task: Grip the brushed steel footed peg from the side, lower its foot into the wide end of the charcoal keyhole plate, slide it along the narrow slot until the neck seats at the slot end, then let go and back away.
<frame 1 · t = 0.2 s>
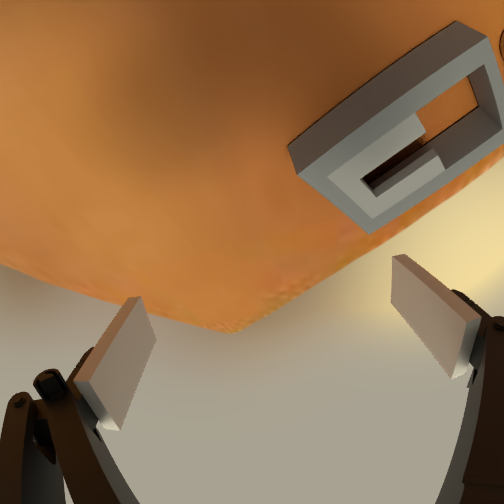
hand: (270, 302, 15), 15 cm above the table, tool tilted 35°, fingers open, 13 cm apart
keyhole plate: (403, 124, 23), on the table
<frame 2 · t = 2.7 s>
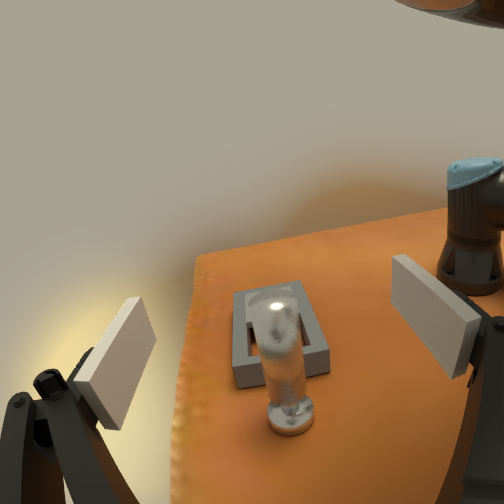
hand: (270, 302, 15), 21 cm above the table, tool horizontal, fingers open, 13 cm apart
keyhole plate: (276, 335, 46), on the table
steel peg: (291, 418, 30), on the table
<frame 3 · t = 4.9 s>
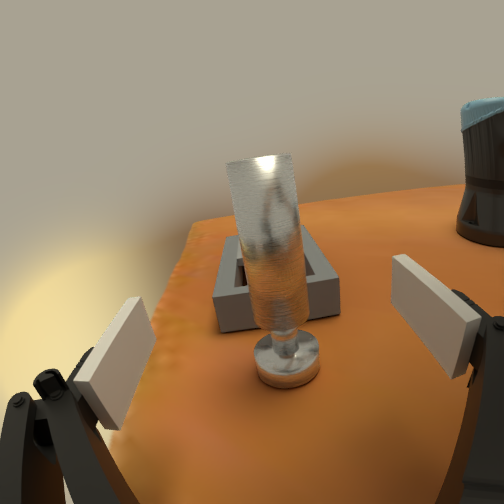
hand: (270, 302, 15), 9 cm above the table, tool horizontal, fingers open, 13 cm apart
keyhole plate: (273, 279, 39), on the table
steel peg: (288, 366, 23), on the table
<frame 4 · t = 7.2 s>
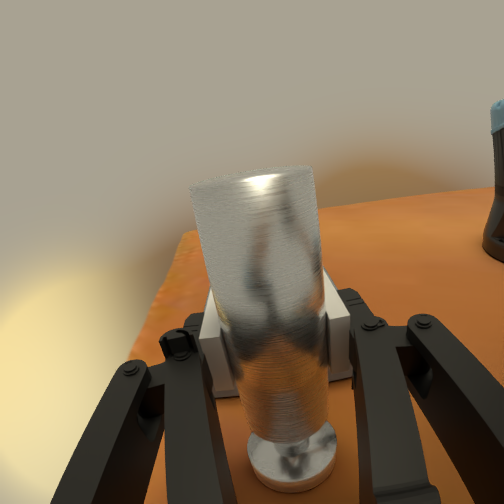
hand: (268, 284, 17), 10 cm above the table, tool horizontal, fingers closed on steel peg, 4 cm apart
keyhole plate: (273, 318, 31), on the table
steel peg: (294, 459, 15), on the table, touching gripper
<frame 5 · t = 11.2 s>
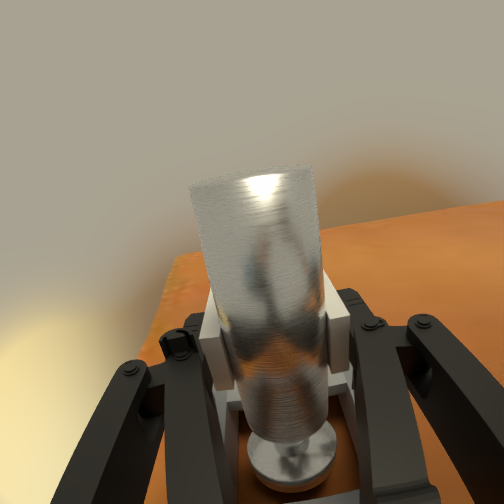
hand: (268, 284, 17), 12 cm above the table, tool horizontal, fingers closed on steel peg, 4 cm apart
keyhole plate: (290, 418, 20), on the table
steel peg: (294, 459, 15), point 2 cm above the table, touching gripper
when the fingers open (10 cm above the table, at t = 15.0 s): steel peg stays where it is, resting in keyhole plate.
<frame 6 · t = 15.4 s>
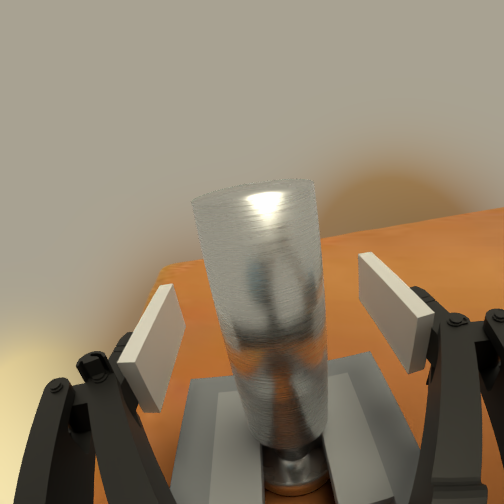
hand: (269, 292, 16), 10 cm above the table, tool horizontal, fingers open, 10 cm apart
steel peg: (294, 463, 15), resting in keyhole plate
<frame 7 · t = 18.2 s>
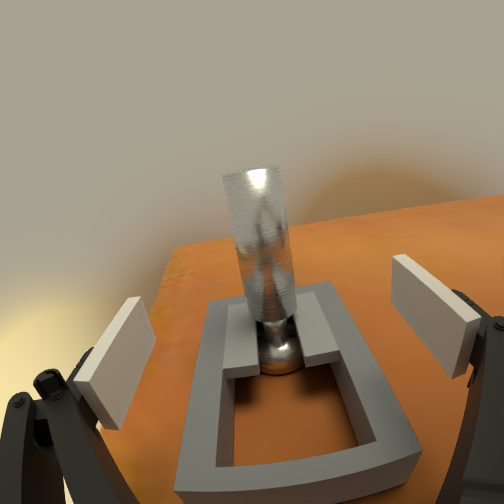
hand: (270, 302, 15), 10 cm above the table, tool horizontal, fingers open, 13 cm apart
keyhole plate: (285, 390, 22), on the table
steel peg: (280, 355, 26), resting in keyhole plate
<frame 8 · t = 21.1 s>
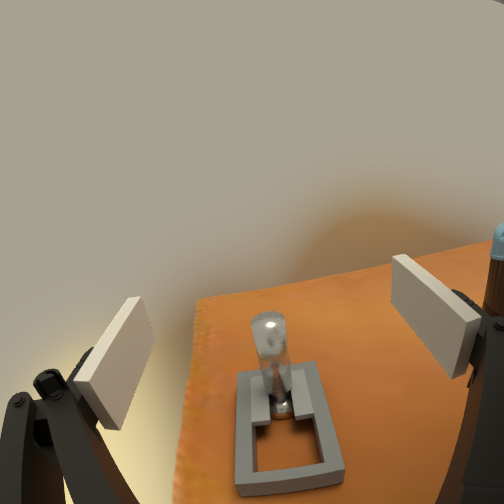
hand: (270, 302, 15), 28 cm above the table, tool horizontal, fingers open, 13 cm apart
keyhole plate: (284, 429, 36), on the table
steel peg: (281, 407, 40), resting in keyhole plate
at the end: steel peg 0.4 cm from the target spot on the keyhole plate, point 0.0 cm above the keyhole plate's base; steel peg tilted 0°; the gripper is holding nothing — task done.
